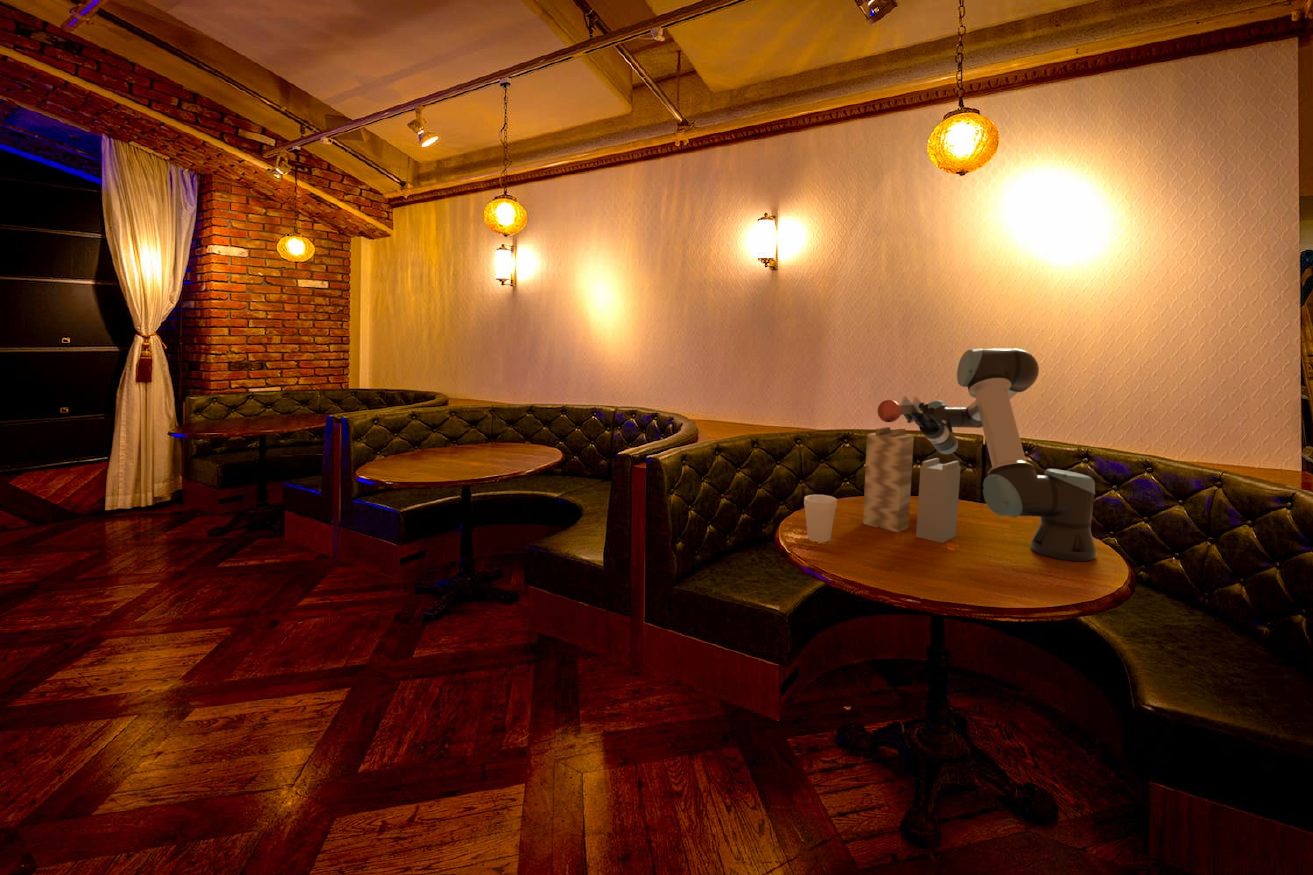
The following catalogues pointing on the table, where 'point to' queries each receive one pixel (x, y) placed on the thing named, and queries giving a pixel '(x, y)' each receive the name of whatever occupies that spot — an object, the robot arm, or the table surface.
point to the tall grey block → (938, 500)
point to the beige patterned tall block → (888, 479)
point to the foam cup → (819, 516)
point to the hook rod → (894, 410)
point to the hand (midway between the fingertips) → (908, 400)
